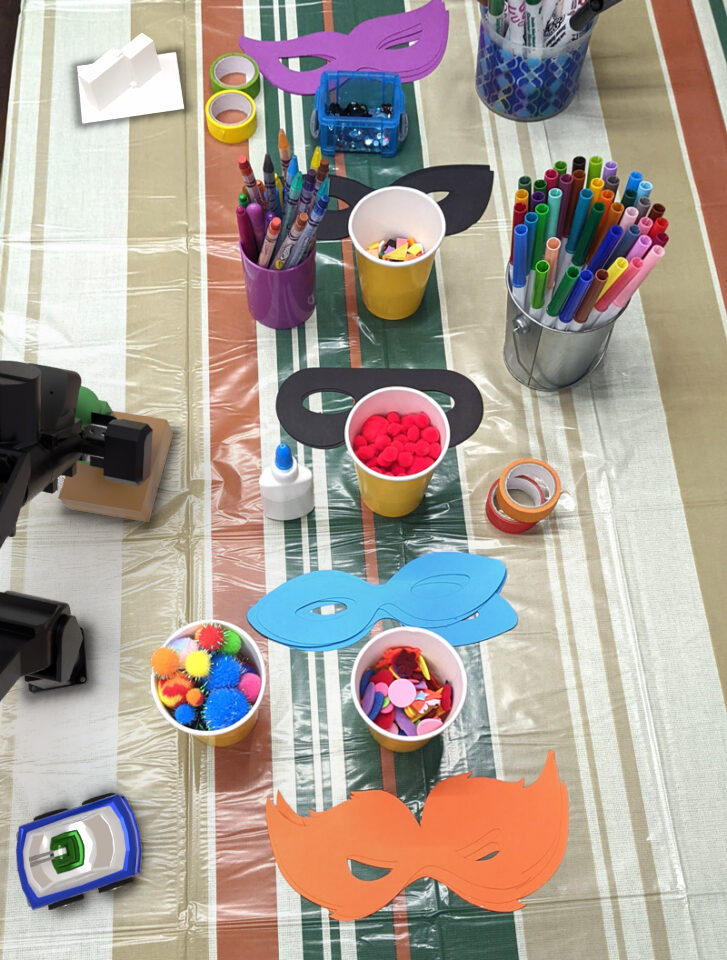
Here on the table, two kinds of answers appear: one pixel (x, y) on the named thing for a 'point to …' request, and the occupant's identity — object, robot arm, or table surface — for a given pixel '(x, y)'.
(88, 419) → the toy pawn
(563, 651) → the table surface
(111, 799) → the toy car
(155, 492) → the oak block
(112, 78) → the napkin holder
